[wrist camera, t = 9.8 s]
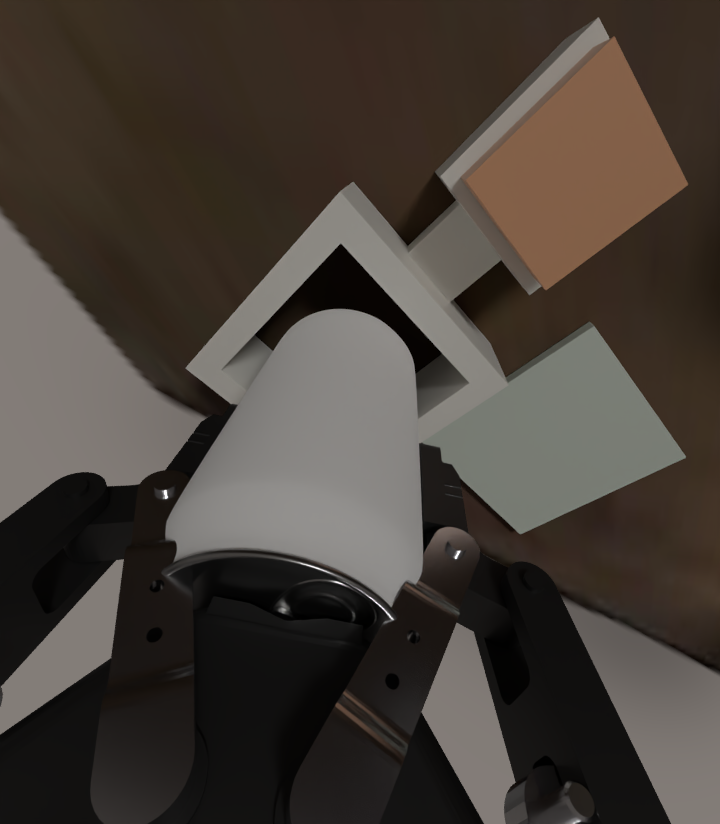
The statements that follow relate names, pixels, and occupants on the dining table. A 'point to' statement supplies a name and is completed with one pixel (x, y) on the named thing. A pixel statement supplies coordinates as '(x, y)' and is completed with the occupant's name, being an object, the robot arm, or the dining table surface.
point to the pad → (558, 434)
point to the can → (312, 481)
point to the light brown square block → (576, 167)
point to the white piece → (406, 269)
